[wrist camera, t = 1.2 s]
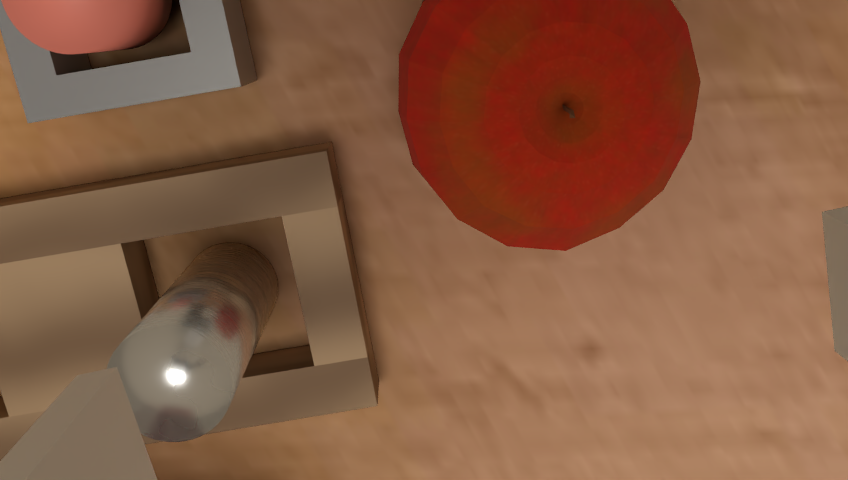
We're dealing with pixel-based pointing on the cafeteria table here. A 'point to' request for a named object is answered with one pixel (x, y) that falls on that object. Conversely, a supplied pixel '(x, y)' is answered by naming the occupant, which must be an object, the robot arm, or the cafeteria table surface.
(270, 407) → the board
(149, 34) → the button
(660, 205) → the cafeteria table surface
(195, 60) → the button housing
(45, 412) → the robot arm
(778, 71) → the cafeteria table surface
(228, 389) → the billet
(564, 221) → the apple
